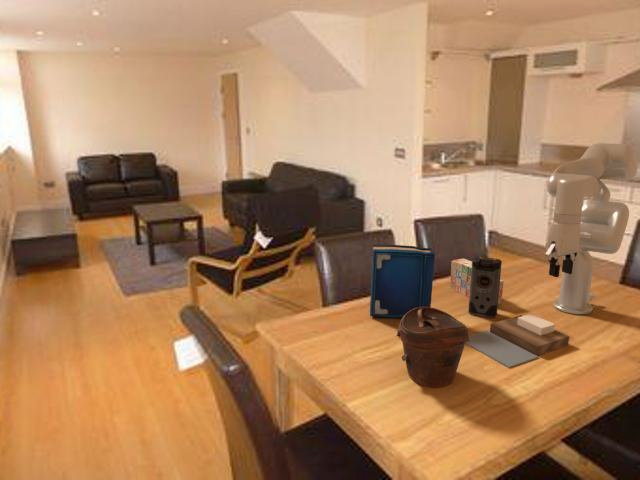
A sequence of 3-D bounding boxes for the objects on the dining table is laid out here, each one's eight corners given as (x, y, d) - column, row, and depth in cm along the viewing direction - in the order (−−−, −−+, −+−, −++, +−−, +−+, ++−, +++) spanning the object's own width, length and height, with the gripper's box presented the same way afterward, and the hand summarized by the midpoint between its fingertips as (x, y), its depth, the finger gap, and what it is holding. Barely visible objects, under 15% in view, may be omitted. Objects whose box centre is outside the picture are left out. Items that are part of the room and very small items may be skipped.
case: (413, 350, 147) (415, 295, 142) (478, 372, 135) (482, 312, 130) (381, 376, 134) (382, 316, 129) (449, 403, 122) (453, 338, 117)
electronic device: (467, 314, 173) (471, 260, 168) (470, 308, 178) (474, 255, 173) (495, 319, 169) (499, 263, 163) (497, 313, 174) (502, 259, 168)
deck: (520, 323, 165) (520, 315, 164) (568, 345, 150) (569, 336, 149) (489, 332, 159) (490, 323, 158) (536, 356, 144) (537, 346, 143)
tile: (530, 320, 160) (530, 313, 159) (554, 331, 152) (554, 324, 152) (517, 324, 157) (517, 317, 157) (540, 335, 150) (541, 328, 149)
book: (430, 312, 175) (434, 244, 169) (433, 320, 168) (436, 250, 162) (369, 310, 177) (371, 243, 171) (369, 318, 170) (371, 249, 164)
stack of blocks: (501, 304, 182) (504, 272, 178) (489, 307, 179) (492, 275, 176) (461, 286, 200) (463, 257, 197) (449, 289, 197) (451, 259, 194)
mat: (486, 331, 160) (486, 330, 159) (538, 357, 142) (538, 356, 142) (458, 339, 154) (458, 338, 154) (508, 368, 137) (509, 366, 137)
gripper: (574, 213, 157) (567, 267, 162) (537, 219, 149) (531, 275, 154) (596, 217, 151) (588, 273, 155) (559, 224, 143) (552, 282, 148)
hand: (560, 273), depth 155 cm, fingers open, 5 cm apart
